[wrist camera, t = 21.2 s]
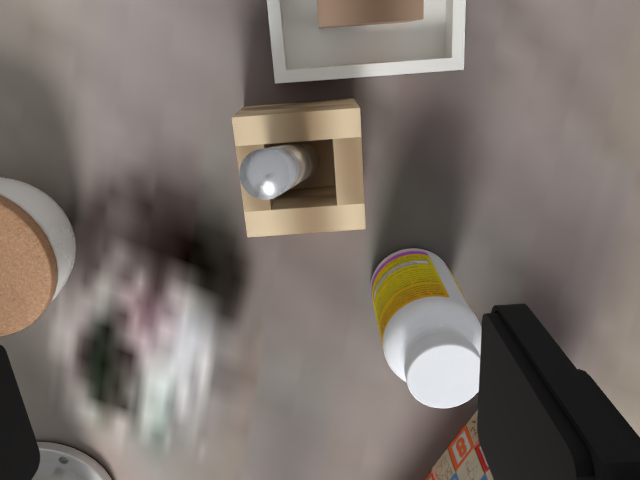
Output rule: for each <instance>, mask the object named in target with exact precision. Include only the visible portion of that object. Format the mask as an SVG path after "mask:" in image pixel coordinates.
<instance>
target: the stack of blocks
mask: <svg viewBox="0 0 640 480" xmlns="http://www.w3.org/2000/svg"><path fill="white" fill-rule="evenodd" d="M477 417H478V410H477V411H476V412H475V414H474V415H473V416H472V418H471V419H470V420H469V421H468V423H467V424H466V425H465V426H464V427H463V428H462V429H461V431H460V432H459V433H458V435H457V436H456V437H455V439H454V440H453V441H452V443H451V444H450V445H449V447H448V448H447V449H446V451H445V452H444V453H443V454H442V456H441V457H440V458H439V460H438V461H437V462H436V464H435V465H434V466H433V468H432V471H431V473H429V475H428V477H427V478H426V479H425V480H494V479H493V477H492V474H491V472H490V469H489V466H488V464H487V461H486V459H485V456H484V454H483V451H482V449H481V446H480V443H479V439H478V432H477Z"/></svg>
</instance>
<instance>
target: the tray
mask: <svg viewBox="0 0 640 480" xmlns="http://www.w3.org/2000/svg"><path fill="white" fill-rule="evenodd" d="M267 7H268V17H269V28H270V38H271V48H272V58H273V69H274V79H275V84H276V83H290V82H303V81H317V80H330V79H344V78H357V77H371V76H384V75H398V74H411V73H425V72H438V71H452V70H464V46H465V9H466V0H424V16H423V19H422V20H417V21H412V22H406V23H392V24H377V25H363V26H349V27H334V28H320V29H319V25H318V9H317V0H267Z"/></svg>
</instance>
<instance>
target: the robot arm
mask: <svg viewBox="0 0 640 480" xmlns="http://www.w3.org/2000/svg"><path fill="white" fill-rule="evenodd" d="M477 432H478V439H479V443H480V446H481V449H482V451H483V454H484V456H485V459H486V461H487V464H488V466H489V469H490V472H491V474H492V477H493V479H494V480H640V437H639V436H638V435H637V434H636V432H635V431H634V430H633V429H632V427H631V426H630V425H629V424H628V422H627V421H626V420H625V419H624V417H623V416H622V415H621V414H620V413H619V411H618V410H617V409H616V408H615V406H614V405H613V404H612V403H611V401H610V400H609V399H608V398H607V396H606V395H605V394H604V393H603V391H602V390H601V389H600V388H599V387H598V385H597V384H596V383H595V382H594V380H593V379H592V378H591V377H590V376H589V375H588V374H587V373H586V372H585V371H583V370H580V369H576V367H575V366H574V365H573V364H572V362H571V361H570V360H569V358H568V357H567V356H566V355H565V353H564V352H563V351H562V350H561V348H560V347H559V346H558V344H557V343H556V342H555V341H554V339H553V338H552V337H551V336H550V334H549V333H548V332H547V330H546V329H545V328H544V327H543V325H542V324H541V323H540V322H539V320H538V319H537V318H536V316H535V315H534V314H533V313H532V311H531V310H530V309H529V308H528V306H527V305H526V304H511V305H495V306H494V307H493V308H492V311H491V313H488V314H484V315H483V318H482V332H481V353H480V374H479V396H478V417H477ZM0 480H112V479H111V477H110V476H109V475H108V473H107V472H106V471H105V469H104V468H103V467H102V466H101V465H99V464H98V463H97V462H96V461H95V460H94V459H92V458H91V457H89V456H88V455H86V454H85V453H83V452H80V451H78V450H76V449H74V448H71V447H68V446H65V445H62V444H56V443H50V442H36V439H35V436H34V433H33V430H32V427H31V424H30V421H29V418H28V415H27V412H26V409H25V406H24V403H23V400H22V397H21V394H20V391H19V388H18V385H17V382H16V379H15V376H14V373H13V370H12V367H11V364H10V361H9V358H8V355H7V352H6V350H5V348H4V347H3V346H2V345H0Z"/></svg>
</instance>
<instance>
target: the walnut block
mask: <svg viewBox="0 0 640 480" xmlns="http://www.w3.org/2000/svg"><path fill="white" fill-rule="evenodd" d="M317 9H318V25H319V29H320V28H334V27H349V26H363V25H377V24H392V23H406V22H412V21H417V20H422V19H423V16H424V0H317Z"/></svg>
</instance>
